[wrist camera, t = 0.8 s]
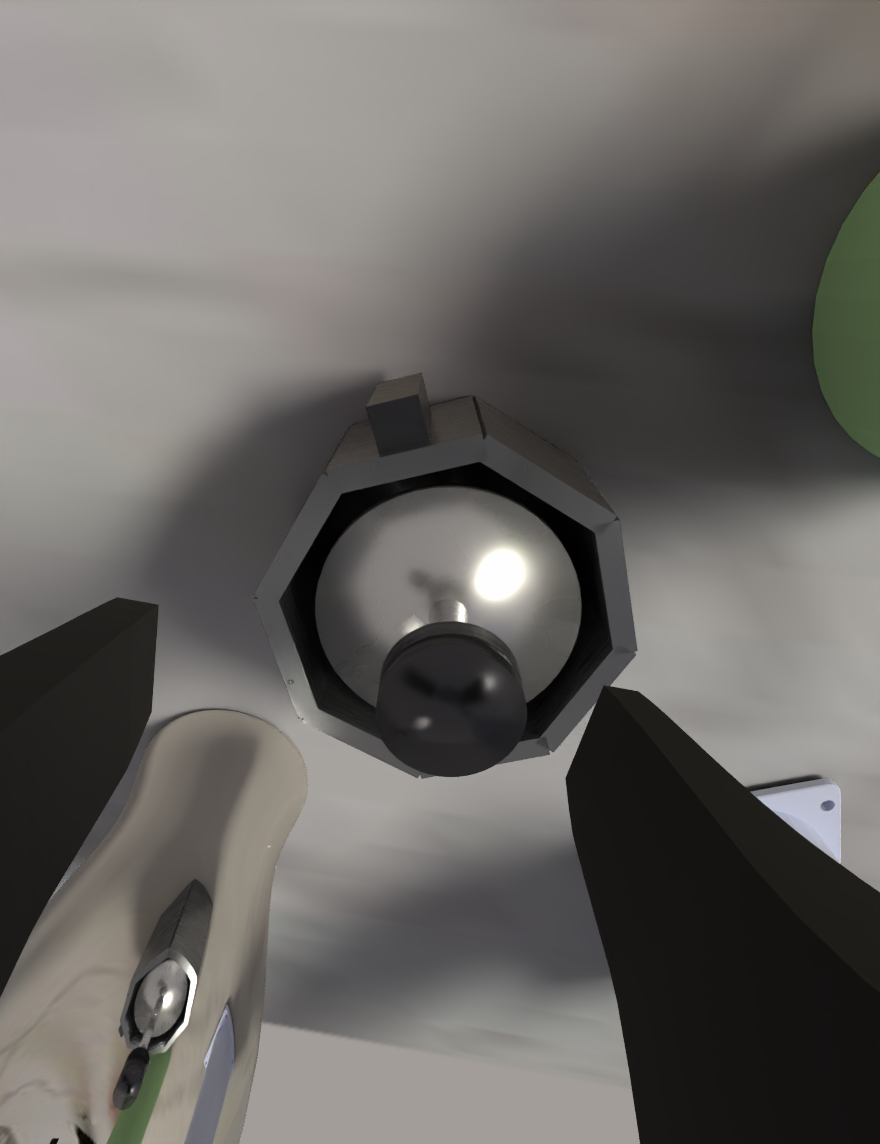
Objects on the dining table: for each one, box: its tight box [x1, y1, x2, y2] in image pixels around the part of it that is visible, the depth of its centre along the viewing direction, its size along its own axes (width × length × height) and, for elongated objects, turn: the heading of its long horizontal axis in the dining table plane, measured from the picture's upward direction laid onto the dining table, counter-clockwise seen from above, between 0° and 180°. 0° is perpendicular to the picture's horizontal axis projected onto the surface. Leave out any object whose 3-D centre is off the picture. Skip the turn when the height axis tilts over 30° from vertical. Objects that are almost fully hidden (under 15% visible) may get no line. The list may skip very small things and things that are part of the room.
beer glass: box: [0, 710, 308, 1144], centre depth 18 cm, size 7×7×15 cm
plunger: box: [315, 484, 582, 777], centre depth 16 cm, size 7×7×5 cm
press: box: [253, 373, 637, 779], centre depth 19 cm, size 10×9×5 cm
